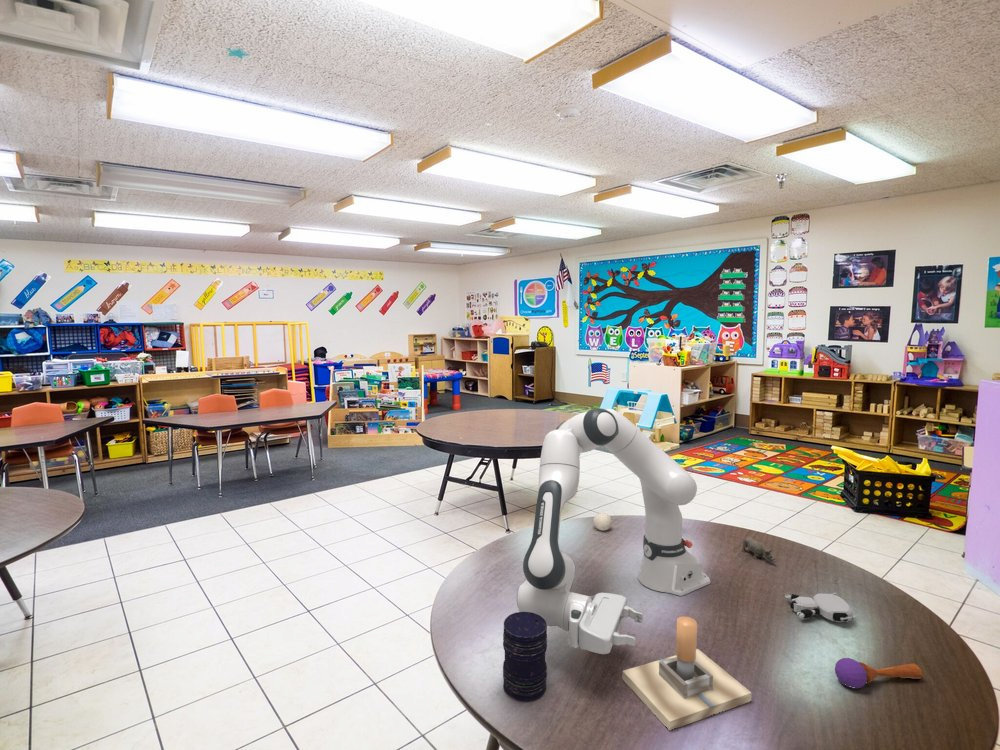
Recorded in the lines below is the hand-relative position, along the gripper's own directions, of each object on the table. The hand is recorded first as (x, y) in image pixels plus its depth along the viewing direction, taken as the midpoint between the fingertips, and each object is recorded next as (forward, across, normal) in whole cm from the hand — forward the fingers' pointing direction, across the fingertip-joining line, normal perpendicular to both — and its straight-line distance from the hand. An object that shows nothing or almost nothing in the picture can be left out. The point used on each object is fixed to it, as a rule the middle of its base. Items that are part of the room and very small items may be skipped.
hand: (639, 629), depth 116 cm
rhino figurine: (+28, -80, -12) cm, 85 cm away
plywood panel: (+10, 0, -12) cm, 16 cm away
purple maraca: (+50, -22, -12) cm, 56 cm away
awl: (+10, 0, -10) cm, 14 cm away
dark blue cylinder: (-22, +14, -12) cm, 29 cm away
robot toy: (+42, -48, -12) cm, 65 cm away
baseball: (-28, -80, -12) cm, 86 cm away
